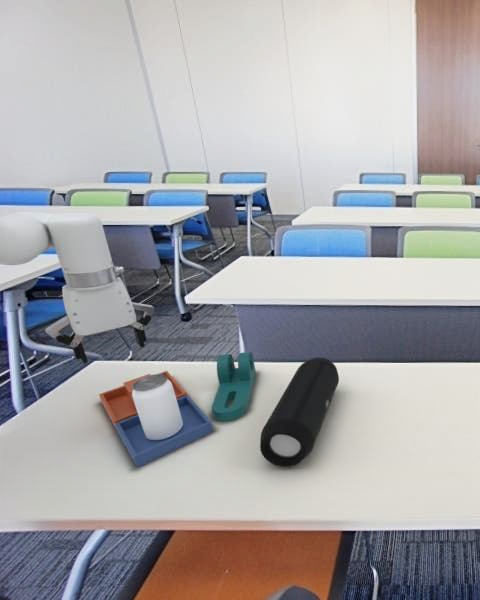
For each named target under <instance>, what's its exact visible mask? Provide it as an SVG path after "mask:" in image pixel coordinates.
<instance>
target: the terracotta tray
mask: <svg viewBox="0 0 480 600" xmlns="http://www.w3.org/2000/svg"><path fill="white" fill-rule="evenodd" d="M158 374H163V375H166V376H167V378H168V380H169V381H170V382H171V383H172V386H173V389H174V393H175V396H176V399H179V398H181V397H184V396H186V395H188V394H187V392H186V391H185V390H184V389H183V388H182V387H181V385H180V384H179V383H178V381H176V380H175V378H174V377H173V376H172V375H171V374H170V372H169V371H168V370H165V371H161V372H159V373H158ZM98 397H99V398H100V402H101V404H102V406H103V407H104V409H105V411H106V413H107V415H108V416H109V419H110V420H111V422H112V424H113V426H114V428H115V429H116V431H117V428H116V425H115V423H118V422H120V421H123V420H126V419H128V418H131V417H133V416H136V415H138V412H137V411H135V409H134V408H133V406H132V404H131V403H130V401H129V399H128V396H127V393H126V390H125V387H124V385H122V386H119V387H116V388H112V389H110V390H108V391H104V392H102V393H99V394H98Z"/></svg>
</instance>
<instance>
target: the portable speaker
mask: <svg viewBox="0 0 480 600" xmlns="http://www.w3.org/2000/svg"><path fill="white" fill-rule="evenodd" d="M339 377H340V376H339V372H338V367H337V366H336V365H335V364H334V363H333V362H332V361H331V360H329V359H328V358H325V357H320V356H319V357H313V358H310V359H308V360H306V361H304V362H303V363H302V364H300V366H299V367H298V368H297V370H296V371H295V373H294V375H293V376H292V378H291V379H290V382H288V383H289V384H288V385H287V387H286V388H285V390H284V392H283V393H282V395H281V397H280V398H279V401H278V402H277V403H276V405H275V407H274V409H273V411H272V412H271V413H270V416H269V418H268V419H267V421H266V423H265V424H264V426H263V428H262V430H261V432H260V440H259V441H260V442H259V451H260V453H261V455H262V456H263V458H264V459H265V460H266V461H267V462H268V463H270V464H273V465H274V466H277V467H282V468H283V467H284V468H288V467H289V468H290V467H294V466H296V465H298V464H301V462H303V461H304V460H305V459H306V458H307V457H308V456H309V455H310V454H311V452H313V449H314V446H315V443H316V441H317V439H318V436H319V433H320V431H321V429H322V426H323V423H324V420H325V418H326V415H327V412H328V410H329V407H330V405H331V402H332V400H333V397H334V395H335V392H336V390H337V387H338V385H339V382H340V378H339Z"/></svg>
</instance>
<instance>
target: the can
mask: <svg viewBox="0 0 480 600" xmlns="http://www.w3.org/2000/svg"><path fill="white" fill-rule="evenodd" d="M132 388H133V391H132V397H133V400H134V403H135V406H136V409H137V412H138V415H139V418H140V421H141V424H142V427H143V430H144V433H145V436H146V437H147V438H148V439H150V440H154V441H159V440H164V439H167V438H170V437H172V436H174V435H175V434H177V433H178V432H179V431H180V429H181V428H182V426H183V421H182V417H181V414H180V410H179V407H178V403H177V400H176V396H175V393H174V389H173V386H172V383H171V382H170V381H169V380H168V378H167V376H166V375H163V374H159V373H154V374H150V375H149V376H146V377H143V378H141V379H139V380H137V381H136V382H135V383H134V384H133V386H132Z"/></svg>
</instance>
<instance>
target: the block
mask: <svg viewBox="0 0 480 600" xmlns="http://www.w3.org/2000/svg"><path fill="white" fill-rule="evenodd" d="M149 375H151V373H148V374H144V375H142V376H140V377H136V378H133V379H131V380H127V381H124V382H123V386H124V387H125V390H126V393H127V396H128V399H129V401H130V403H131V404H132V406H133V408H134V409H135V411H137V409H136V406H135V403H134V400H133V397H132V391H133V388H132V386H133V384H134V383H135V382H136V381H137V380H139V379H141V378H143V377H146V376H149Z"/></svg>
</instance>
